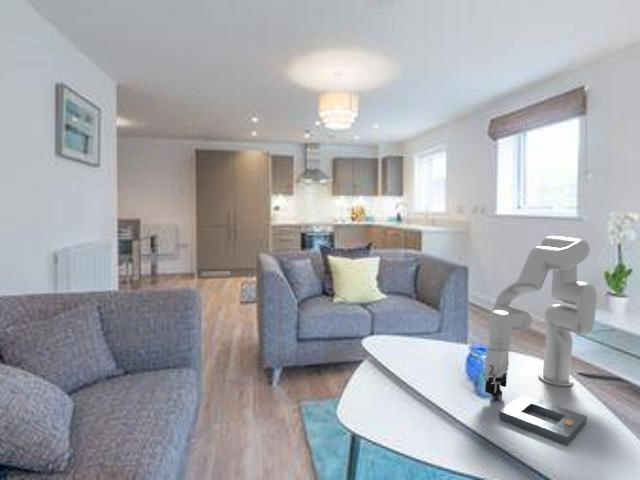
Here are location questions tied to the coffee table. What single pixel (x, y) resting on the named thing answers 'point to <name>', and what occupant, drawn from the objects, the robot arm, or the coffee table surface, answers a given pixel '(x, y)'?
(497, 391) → the black knob lever
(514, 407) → the frame
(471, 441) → the coffee table surface
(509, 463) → the coffee table surface
